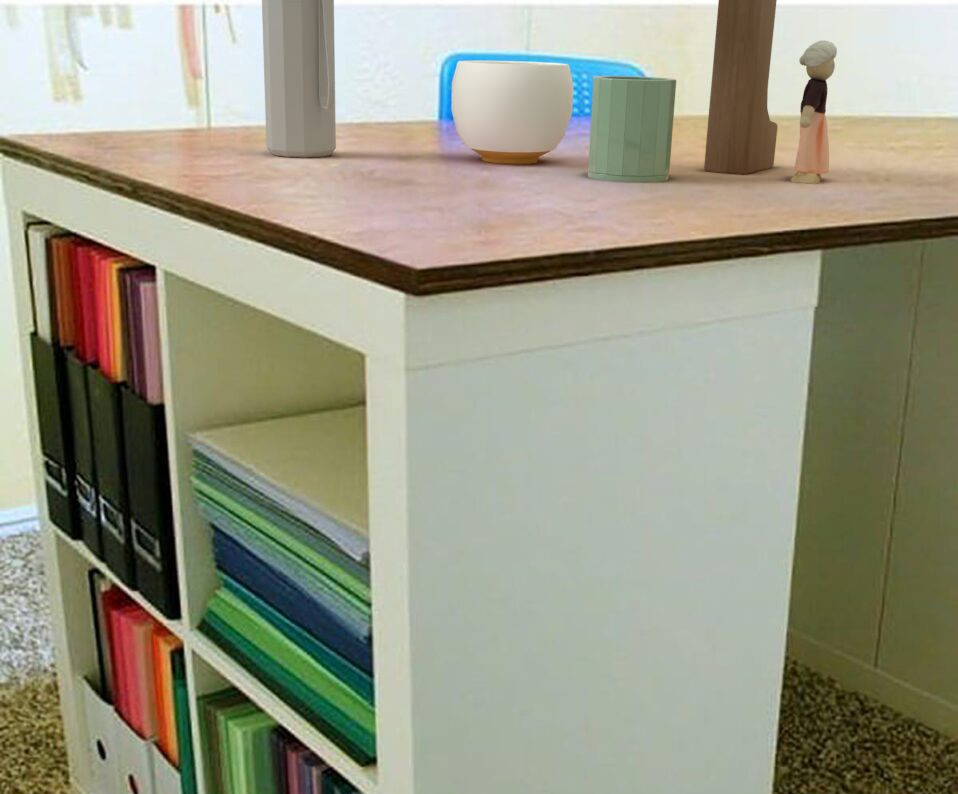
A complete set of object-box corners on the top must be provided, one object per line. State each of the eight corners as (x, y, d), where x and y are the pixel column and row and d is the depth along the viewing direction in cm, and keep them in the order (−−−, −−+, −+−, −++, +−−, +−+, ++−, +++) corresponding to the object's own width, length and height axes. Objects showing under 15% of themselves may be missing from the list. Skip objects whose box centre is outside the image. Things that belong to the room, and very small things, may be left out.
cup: (425, 159, 133) (426, 60, 130) (508, 153, 142) (511, 60, 138) (512, 171, 125) (516, 65, 122) (594, 163, 134) (599, 65, 130)
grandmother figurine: (831, 186, 120) (848, 41, 116) (789, 184, 121) (804, 40, 116) (823, 177, 128) (839, 40, 123) (784, 175, 128) (798, 39, 124)
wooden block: (733, 164, 136) (750, -20, 130) (774, 168, 134) (794, -19, 128) (702, 172, 129) (719, -23, 123) (745, 175, 127) (765, -23, 120)
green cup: (678, 177, 124) (686, 78, 121) (653, 185, 118) (660, 81, 115) (604, 171, 127) (610, 75, 124) (575, 178, 121) (580, 77, 118)
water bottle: (249, 154, 134) (239, -113, 125) (312, 150, 139) (306, -106, 130) (300, 162, 128) (294, -118, 119) (364, 158, 133) (362, -111, 124)
